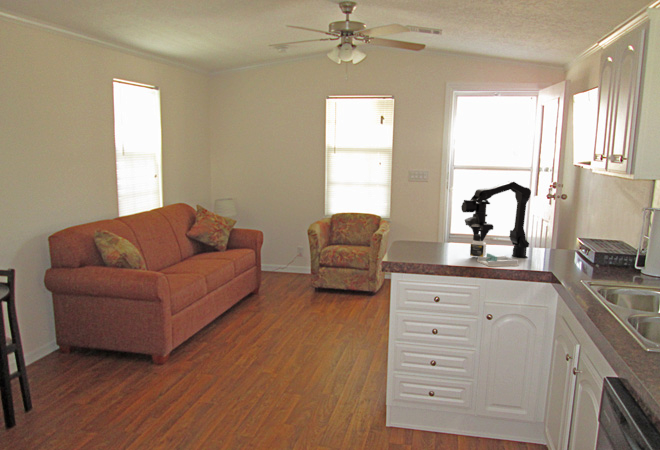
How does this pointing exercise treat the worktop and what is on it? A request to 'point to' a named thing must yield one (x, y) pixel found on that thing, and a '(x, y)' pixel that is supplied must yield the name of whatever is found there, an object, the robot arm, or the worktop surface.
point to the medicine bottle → (477, 247)
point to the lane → (499, 261)
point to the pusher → (489, 257)
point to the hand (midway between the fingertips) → (478, 240)
